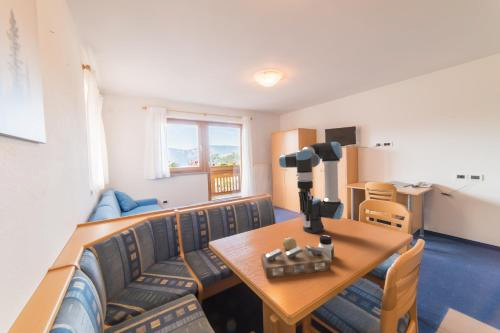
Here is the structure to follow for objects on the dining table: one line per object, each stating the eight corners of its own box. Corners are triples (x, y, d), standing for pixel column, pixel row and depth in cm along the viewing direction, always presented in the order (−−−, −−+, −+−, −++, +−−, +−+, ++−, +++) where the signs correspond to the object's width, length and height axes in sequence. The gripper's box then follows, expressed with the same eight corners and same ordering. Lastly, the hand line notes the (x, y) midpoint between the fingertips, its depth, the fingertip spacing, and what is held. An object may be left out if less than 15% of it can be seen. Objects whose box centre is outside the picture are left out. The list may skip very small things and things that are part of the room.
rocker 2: (300, 248, 103) (298, 245, 102) (302, 251, 99) (301, 248, 99) (286, 255, 102) (285, 252, 102) (288, 258, 99) (287, 255, 98)
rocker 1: (280, 250, 101) (279, 247, 101) (282, 253, 98) (281, 250, 98) (266, 257, 100) (265, 254, 100) (268, 260, 97) (266, 257, 97)
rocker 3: (318, 251, 104) (319, 248, 104) (321, 254, 101) (322, 251, 101) (304, 248, 103) (305, 244, 103) (307, 250, 100) (308, 247, 100)
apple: (292, 253, 114) (284, 241, 115) (285, 253, 121) (278, 241, 122) (301, 245, 118) (293, 233, 119) (293, 245, 125) (287, 235, 126)
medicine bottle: (331, 262, 103) (331, 240, 103) (318, 259, 107) (317, 237, 107) (334, 256, 109) (333, 235, 109) (320, 253, 113) (320, 233, 113)
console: (318, 256, 109) (317, 245, 109) (330, 270, 96) (330, 257, 96) (261, 263, 105) (260, 251, 105) (266, 278, 92) (266, 264, 92)
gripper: (292, 179, 106) (294, 222, 107) (303, 182, 92) (305, 232, 93) (306, 178, 107) (307, 221, 108) (318, 181, 93) (320, 230, 94)
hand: (306, 226), depth 101 cm, fingers closed
